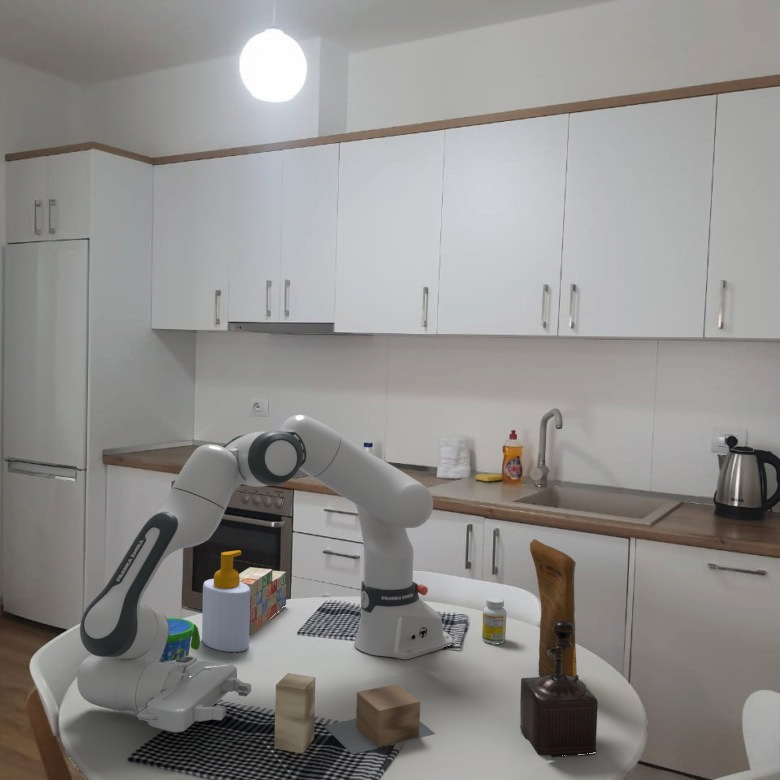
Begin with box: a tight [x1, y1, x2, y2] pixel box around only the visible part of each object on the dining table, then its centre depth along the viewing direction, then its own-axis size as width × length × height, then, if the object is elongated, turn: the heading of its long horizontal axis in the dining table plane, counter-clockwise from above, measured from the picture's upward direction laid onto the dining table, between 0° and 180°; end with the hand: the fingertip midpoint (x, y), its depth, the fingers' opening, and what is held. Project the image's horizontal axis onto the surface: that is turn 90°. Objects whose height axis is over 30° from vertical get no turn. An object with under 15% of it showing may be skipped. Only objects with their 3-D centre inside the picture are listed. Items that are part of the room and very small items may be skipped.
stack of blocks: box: [239, 566, 287, 636], centre depth 193 cm, size 21×6×12 cm, turn 165°
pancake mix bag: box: [529, 538, 578, 677], centre depth 160 cm, size 7×19×28 cm, turn 8°
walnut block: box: [355, 683, 421, 746], centre depth 137 cm, size 8×8×6 cm
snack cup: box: [160, 617, 201, 663], centre depth 158 cm, size 16×10×10 cm
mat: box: [323, 718, 436, 756], centre depth 137 cm, size 16×11×1 cm
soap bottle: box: [201, 549, 250, 653], centre depth 176 cm, size 13×8×20 cm, turn 49°
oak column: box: [273, 672, 317, 754], centre depth 131 cm, size 5×5×11 cm
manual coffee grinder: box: [519, 621, 599, 758], centre depth 138 cm, size 16×11×18 cm
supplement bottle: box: [481, 596, 507, 645], centre depth 183 cm, size 5×5×10 cm
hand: (237, 701), depth 134 cm, fingers open, 8 cm apart
